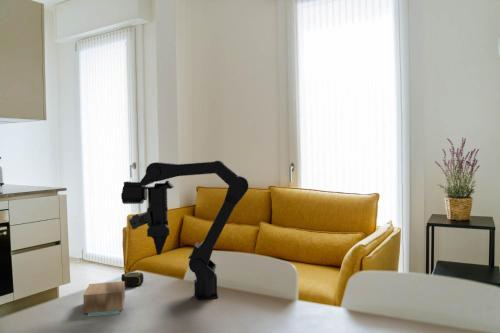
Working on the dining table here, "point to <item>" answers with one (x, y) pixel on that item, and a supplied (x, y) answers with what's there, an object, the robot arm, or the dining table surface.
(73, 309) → the dining table surface
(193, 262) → the robot arm
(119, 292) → the light brown wooden block
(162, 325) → the dining table surface
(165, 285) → the dining table surface
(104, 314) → the mat
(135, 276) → the tape measure
